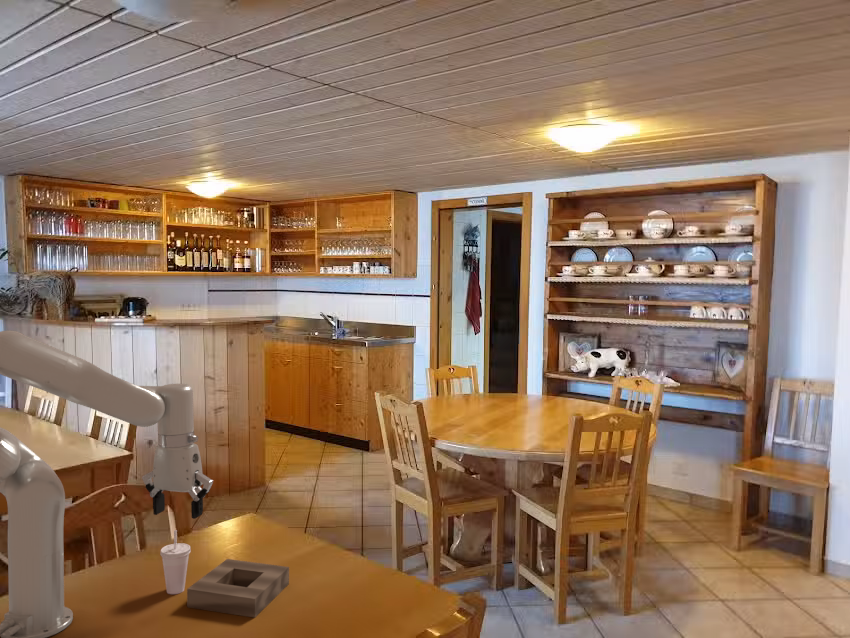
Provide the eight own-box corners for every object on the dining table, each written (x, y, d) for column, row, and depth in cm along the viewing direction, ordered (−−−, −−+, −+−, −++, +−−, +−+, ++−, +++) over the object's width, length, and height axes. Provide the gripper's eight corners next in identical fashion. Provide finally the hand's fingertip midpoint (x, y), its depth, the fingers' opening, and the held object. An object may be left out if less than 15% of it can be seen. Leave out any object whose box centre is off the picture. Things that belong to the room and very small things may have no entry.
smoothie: (158, 598, 143) (158, 536, 142) (162, 585, 149) (162, 525, 148) (189, 595, 145) (189, 533, 144) (191, 582, 151) (191, 523, 150)
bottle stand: (254, 617, 136) (255, 598, 135) (187, 607, 139) (187, 588, 139) (288, 583, 151) (289, 567, 151) (227, 575, 155) (227, 558, 155)
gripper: (220, 438, 147) (221, 512, 148) (153, 433, 151) (155, 505, 152) (200, 446, 140) (202, 524, 141) (131, 441, 144) (133, 517, 145)
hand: (178, 514), depth 146 cm, fingers open, 9 cm apart
